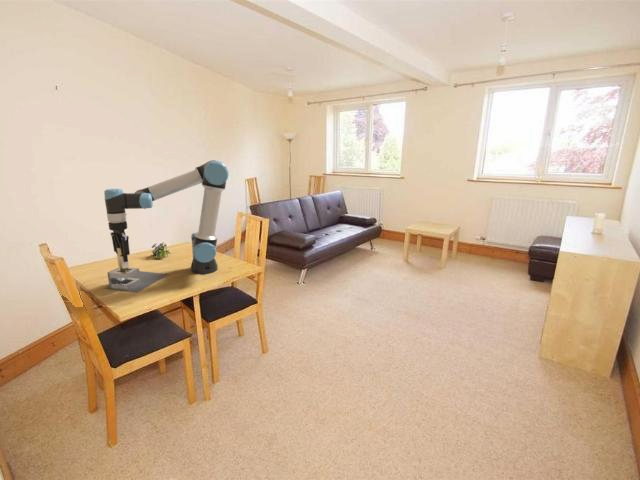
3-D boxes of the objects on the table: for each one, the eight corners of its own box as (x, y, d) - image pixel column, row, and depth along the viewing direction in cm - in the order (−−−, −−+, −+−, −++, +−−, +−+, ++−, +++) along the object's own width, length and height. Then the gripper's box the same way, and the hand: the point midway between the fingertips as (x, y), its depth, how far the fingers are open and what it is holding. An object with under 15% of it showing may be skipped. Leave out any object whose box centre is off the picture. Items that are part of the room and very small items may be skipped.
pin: (130, 271, 158) (126, 247, 154) (124, 273, 155) (121, 249, 151) (124, 270, 158) (120, 246, 155) (118, 273, 155) (115, 248, 152)
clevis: (140, 283, 162) (138, 268, 160) (127, 290, 154) (125, 274, 151) (123, 281, 164) (121, 266, 161) (109, 288, 155) (107, 272, 153)
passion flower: (156, 264, 207) (153, 247, 210) (173, 260, 209) (170, 243, 212) (150, 259, 196) (148, 242, 199) (169, 255, 199) (166, 238, 202)
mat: (169, 274, 176) (169, 274, 175) (137, 293, 152) (137, 292, 152) (139, 271, 178) (139, 271, 178) (103, 289, 155) (103, 288, 155)
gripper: (134, 222, 148) (139, 268, 154) (117, 217, 157) (123, 261, 163) (117, 225, 142) (123, 272, 148) (101, 219, 151) (108, 265, 157)
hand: (123, 266), depth 156 cm, fingers closed on pin, 3 cm apart
